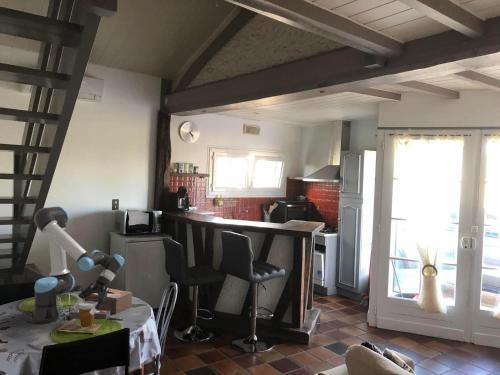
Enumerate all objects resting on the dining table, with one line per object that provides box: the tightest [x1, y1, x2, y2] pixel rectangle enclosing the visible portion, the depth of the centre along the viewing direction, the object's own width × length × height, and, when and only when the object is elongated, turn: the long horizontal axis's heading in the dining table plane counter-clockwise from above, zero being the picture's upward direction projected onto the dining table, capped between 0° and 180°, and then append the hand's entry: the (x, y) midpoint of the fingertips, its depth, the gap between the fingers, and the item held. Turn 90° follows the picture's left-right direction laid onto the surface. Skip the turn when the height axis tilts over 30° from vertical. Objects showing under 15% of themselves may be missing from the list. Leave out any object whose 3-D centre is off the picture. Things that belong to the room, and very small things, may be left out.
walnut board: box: [57, 319, 102, 332], centre depth 222 cm, size 20×16×2 cm
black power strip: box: [69, 308, 124, 321], centre depth 236 cm, size 31×6×4 cm, turn 85°
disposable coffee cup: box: [78, 301, 95, 327], centre depth 222 cm, size 10×10×12 cm
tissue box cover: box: [83, 288, 133, 315], centre depth 256 cm, size 26×14×10 cm, turn 67°
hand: (82, 311), depth 221 cm, fingers open, 13 cm apart
